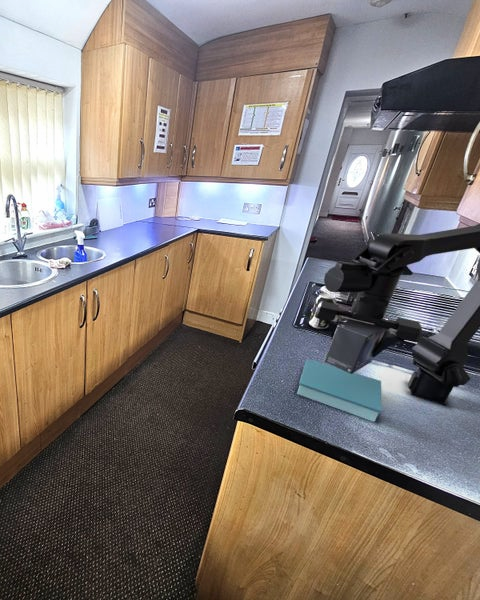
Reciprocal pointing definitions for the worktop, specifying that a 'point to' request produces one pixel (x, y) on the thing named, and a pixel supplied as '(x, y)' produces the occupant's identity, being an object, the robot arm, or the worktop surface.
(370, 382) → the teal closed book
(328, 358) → the small box
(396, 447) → the worktop surface
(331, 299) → the beverage can
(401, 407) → the worktop surface
